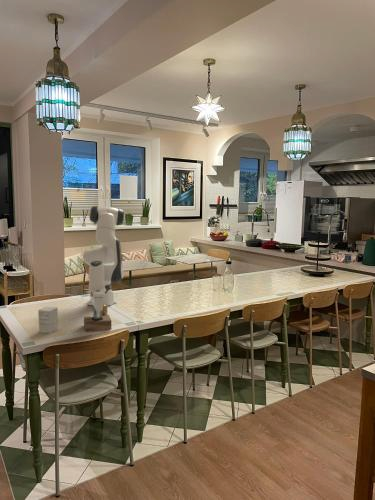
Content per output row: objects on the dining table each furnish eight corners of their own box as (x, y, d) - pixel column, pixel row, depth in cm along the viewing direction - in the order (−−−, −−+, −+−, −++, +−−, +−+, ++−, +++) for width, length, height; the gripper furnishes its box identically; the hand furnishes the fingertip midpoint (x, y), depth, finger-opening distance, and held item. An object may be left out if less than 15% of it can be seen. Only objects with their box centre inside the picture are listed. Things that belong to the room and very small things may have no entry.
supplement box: (47, 327, 212) (46, 306, 211) (58, 329, 210) (58, 307, 208) (38, 332, 205) (37, 309, 204) (50, 333, 203) (49, 311, 201)
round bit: (100, 320, 227) (100, 304, 226) (107, 319, 228) (106, 303, 227) (101, 322, 223) (100, 305, 222) (108, 321, 225) (107, 305, 223)
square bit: (93, 324, 216) (93, 307, 215) (100, 324, 217) (100, 307, 216) (94, 327, 212) (94, 309, 211) (101, 326, 214) (101, 309, 212)
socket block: (84, 325, 217) (83, 317, 216) (108, 323, 222) (108, 315, 221) (85, 331, 208) (85, 322, 207) (111, 328, 213) (111, 320, 212)
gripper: (89, 286, 221) (89, 309, 222) (93, 295, 202) (93, 320, 203) (100, 285, 223) (100, 308, 225) (105, 294, 204) (105, 319, 206)
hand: (97, 314), depth 214 cm, fingers open, 8 cm apart
